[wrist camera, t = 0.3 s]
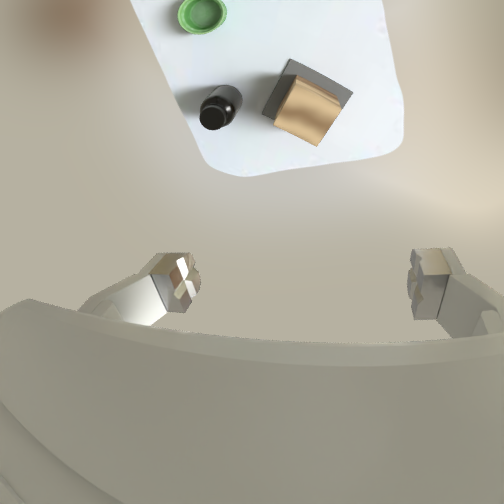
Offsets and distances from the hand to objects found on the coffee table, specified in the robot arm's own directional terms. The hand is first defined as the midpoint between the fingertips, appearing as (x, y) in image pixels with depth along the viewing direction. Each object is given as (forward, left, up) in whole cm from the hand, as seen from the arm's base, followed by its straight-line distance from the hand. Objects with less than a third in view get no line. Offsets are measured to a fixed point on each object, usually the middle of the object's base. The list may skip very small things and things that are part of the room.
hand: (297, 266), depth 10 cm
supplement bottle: (+16, -10, -51) cm, 55 cm away
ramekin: (-1, -21, -52) cm, 56 cm away
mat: (+9, +5, -51) cm, 52 cm away
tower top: (+9, +5, -46) cm, 47 cm away
